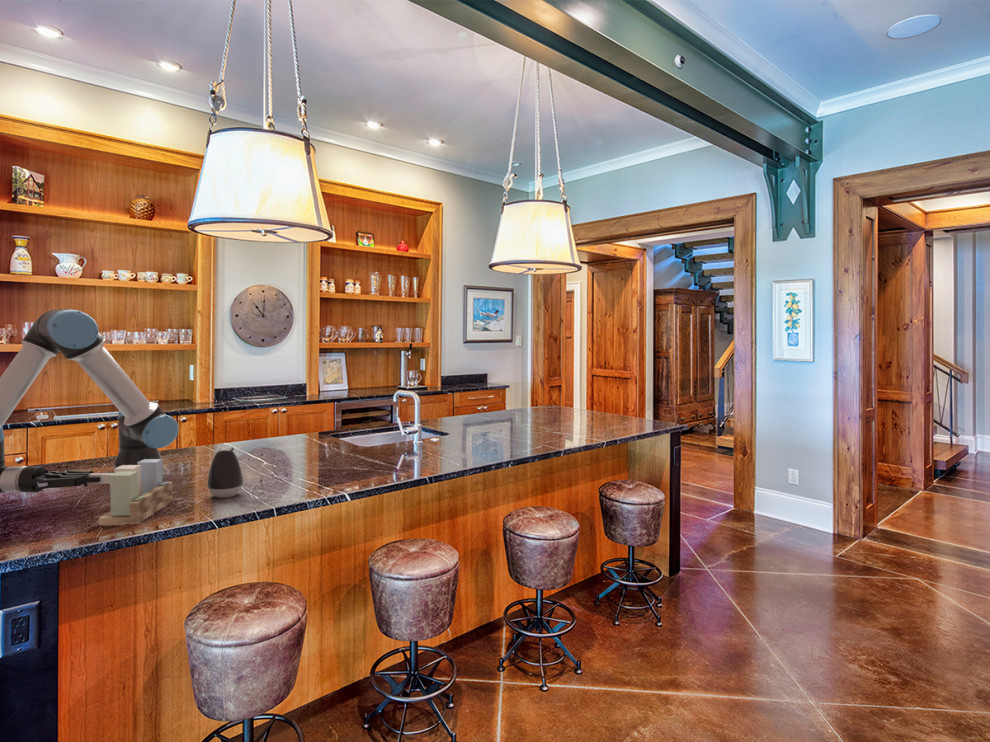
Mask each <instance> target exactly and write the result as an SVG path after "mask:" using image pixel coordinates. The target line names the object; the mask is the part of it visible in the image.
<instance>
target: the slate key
mask: <svg viewBox="0 0 990 742" xmlns="http://www.w3.org/2000/svg"><path fill="white" fill-rule="evenodd" d="M162 460H163V458H162V459H144V460H142V461H140V462H137V465H141V485H142V495H144V494H146V493H147V492H149V491H151V490H152V489H154V488H156V487H158V486H159V485H160V484H161V483H163V482H164V481H163V480H164V476H163V467H162Z"/></svg>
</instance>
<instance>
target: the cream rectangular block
mask: <svg viewBox="0 0 990 742" xmlns="http://www.w3.org/2000/svg"><path fill="white" fill-rule="evenodd" d="M130 471H138V497H139V496H142V485H141V465H122V466H119V467H117V468H115V469H114V468H113V473H116V472H130Z"/></svg>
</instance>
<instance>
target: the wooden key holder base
mask: <svg viewBox="0 0 990 742" xmlns="http://www.w3.org/2000/svg"><path fill="white" fill-rule="evenodd" d="M173 493H174V492H173V481H163V483H161V484H160V485H159V486H158V487H156V488H154V489H152V490H151V491H149V492H147V493H146V494H144V495H142V496H139V497H138V498H136V499H134V501H132V502H131V503H129V505H130V515H121V516H111V510H110V511H109V512H107V513H104V514H103V515H102V516H100V517H98V526H99V525H100V526H126V525H125V524H139V525H140V524H141V523H143V522H144V521H146V520H147V519H149V518H150V517H152V516H153V515H155V514H156V513H157V511H158V512H159V511H160V510H162V509H163V508H165V507H166V506H168V505H169V504H171V503H172V502H173V496H174V494H173ZM161 508H162V509H161ZM155 512H156V513H155ZM154 513H155V514H154ZM151 515H152V516H151ZM149 516H150V517H149ZM148 517H149V518H148ZM145 519H146V520H145ZM142 521H143V522H142ZM118 524H119V525H118Z"/></svg>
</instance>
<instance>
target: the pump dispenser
mask: <svg viewBox="0 0 990 742" xmlns="http://www.w3.org/2000/svg"><path fill="white" fill-rule="evenodd" d="M243 477H244V476H243V471H242V468H241V463H240V461H239V458H238V456H237V454H236V453H235V452H234V447H232V446H231V447H229V448H227V447H226V448H221V449H219V450H218V451H216V453H215V454H214V456H213V458H212V460H211V464H210V468H209V471H208V475H207V482H206V483H207V484H206V485H207V488H208V490H209V492H210V493H211V495H212V496H213V497H215V498H219V499H228V498H232V497H234V496H236V495H238V494H239V492H240V491H241V490H242V487H243V484H244V478H243Z"/></svg>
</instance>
